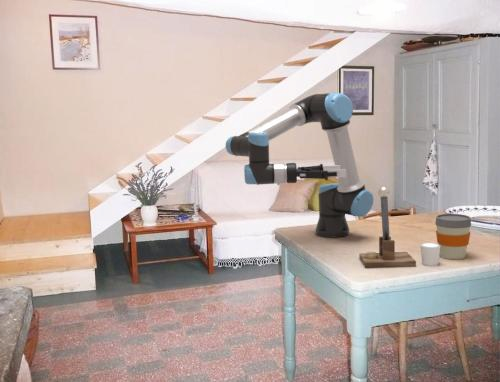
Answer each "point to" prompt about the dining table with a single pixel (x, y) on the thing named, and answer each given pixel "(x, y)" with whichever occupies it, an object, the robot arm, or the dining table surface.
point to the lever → (384, 211)
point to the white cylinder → (430, 254)
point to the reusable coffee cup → (453, 235)
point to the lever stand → (386, 256)
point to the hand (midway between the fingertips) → (343, 170)
